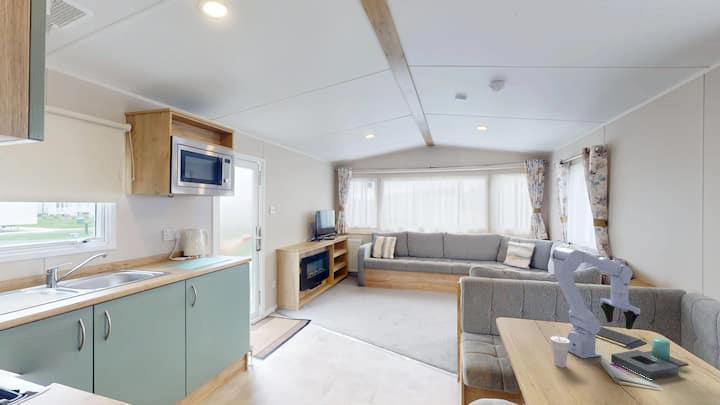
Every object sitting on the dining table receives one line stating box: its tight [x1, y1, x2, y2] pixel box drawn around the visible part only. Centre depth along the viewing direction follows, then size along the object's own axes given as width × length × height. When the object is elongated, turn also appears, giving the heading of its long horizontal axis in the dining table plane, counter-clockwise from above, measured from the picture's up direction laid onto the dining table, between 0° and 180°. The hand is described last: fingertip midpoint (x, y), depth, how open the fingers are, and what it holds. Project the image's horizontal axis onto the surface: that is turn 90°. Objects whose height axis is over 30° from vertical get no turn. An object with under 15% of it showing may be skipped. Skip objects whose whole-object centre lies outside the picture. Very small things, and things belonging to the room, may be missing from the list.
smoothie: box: [550, 326, 570, 368], centre depth 120 cm, size 6×6×14 cm
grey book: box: [596, 326, 648, 351], centre depth 145 cm, size 20×2×15 cm
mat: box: [643, 350, 689, 367], centre depth 124 cm, size 11×11×1 cm
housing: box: [610, 349, 679, 381], centre depth 118 cm, size 14×13×3 cm
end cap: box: [651, 337, 671, 362], centre depth 124 cm, size 5×5×7 cm
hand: (619, 325), depth 132 cm, fingers open, 7 cm apart
